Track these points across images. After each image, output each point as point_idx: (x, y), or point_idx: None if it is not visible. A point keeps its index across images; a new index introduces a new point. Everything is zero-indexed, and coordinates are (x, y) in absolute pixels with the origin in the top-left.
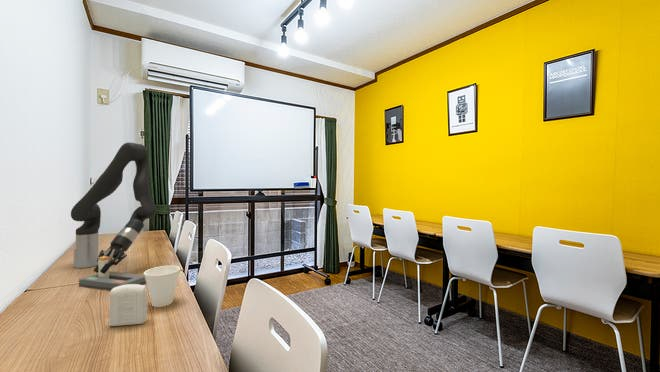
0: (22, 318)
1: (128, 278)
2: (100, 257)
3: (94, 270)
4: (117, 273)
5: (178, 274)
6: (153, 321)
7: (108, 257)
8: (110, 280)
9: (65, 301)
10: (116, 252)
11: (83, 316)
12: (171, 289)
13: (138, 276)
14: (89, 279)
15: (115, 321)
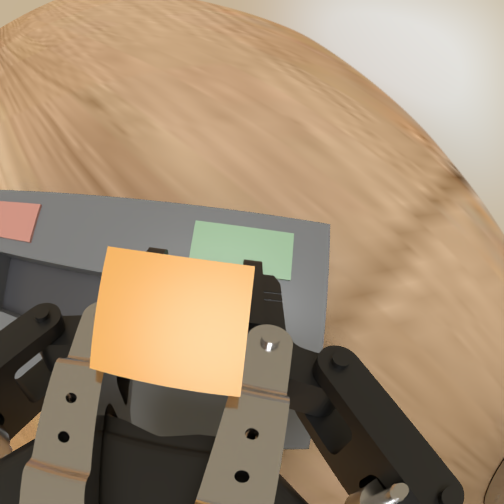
0: (195, 13)
1: (14, 315)
2: (212, 283)
3: (252, 261)
4: (148, 408)
5: None
6: None
7: (97, 355)
8: (69, 237)
9: (176, 81)
10: (19, 474)
11: (48, 55)
12: None
13: None
14: (240, 226)
15: None
